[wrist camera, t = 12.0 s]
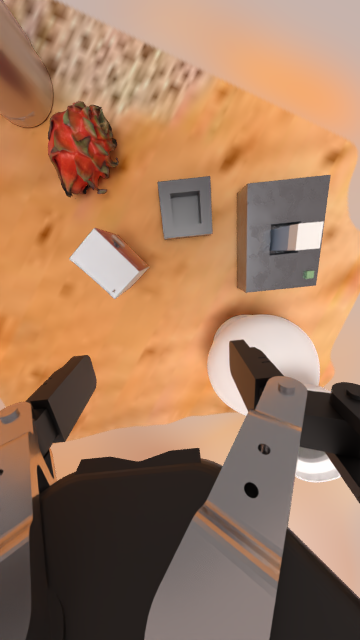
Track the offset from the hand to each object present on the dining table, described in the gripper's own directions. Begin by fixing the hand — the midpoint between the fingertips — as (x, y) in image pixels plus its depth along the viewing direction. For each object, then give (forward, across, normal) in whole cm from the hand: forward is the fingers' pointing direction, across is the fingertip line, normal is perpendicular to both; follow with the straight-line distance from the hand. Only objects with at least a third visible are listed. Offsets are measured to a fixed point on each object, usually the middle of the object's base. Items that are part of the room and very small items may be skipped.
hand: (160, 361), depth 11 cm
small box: (+28, +8, -5) cm, 30 cm away
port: (+28, -19, -6) cm, 34 cm away
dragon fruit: (+28, +10, -20) cm, 36 cm away
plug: (+27, -19, -6) cm, 34 cm away
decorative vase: (+28, -14, +14) cm, 35 cm away
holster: (+28, -4, -12) cm, 31 cm away
